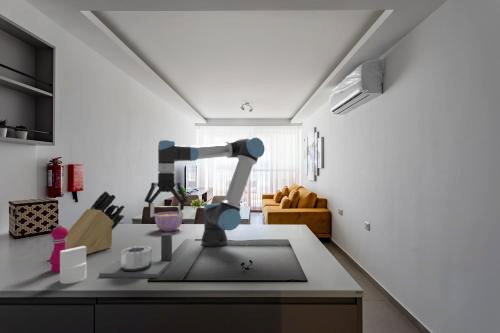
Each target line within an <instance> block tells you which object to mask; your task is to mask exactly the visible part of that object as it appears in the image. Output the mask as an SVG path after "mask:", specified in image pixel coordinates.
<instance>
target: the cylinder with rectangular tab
mask: <svg viewBox="0 0 500 333" xmlns="http://www.w3.org/2000/svg"><path fill="white" fill-rule="evenodd" d="M87 264H88V263H87V254H86V246H80V247H76V248H71V249H67V250H62V251H60V272H59V283H61V284H64V285H68V284H69V285H70V284H75V283H80V282H82V281H85V279H87V276H88V275H87Z"/></svg>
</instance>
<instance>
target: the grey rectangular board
mask: <svg viewBox="0 0 500 333" xmlns="http://www.w3.org/2000/svg"><path fill="white" fill-rule="evenodd" d="M170 262H171V261H153V260H152V263H151V267H150V268H148V269H146V270H143V271H139V272H124V271H122V270H121V260H118V261H116V262H115V263H113V264H111V265H110V266H108V267H107V268H105V269H103V270H102V271H101V272H99V273H98V274H99V276H98V277H99V278H141V279H142V278H145V279H147V278H148V279H149V278H150V279H151V278H152V279H156V278H159V277H160V276H161V275H162V274H163V273H164V272H163V271H166V270H167V268H168V267H170ZM162 272H163V273H162Z"/></svg>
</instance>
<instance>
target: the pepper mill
mask: <svg viewBox="0 0 500 333" xmlns="http://www.w3.org/2000/svg"><path fill="white" fill-rule="evenodd" d="M68 231H69V230H68V229H67V228H66V227H63V224H62V223H58V224H57V227H55V228H54V229H52V230H51V233H50V234H51V238H52V244H53V249H54V250H53V249H52V251H53V253H51V255H50V257H49V263H50V265H51V267H50V271H51V273H60V251H62V250H66V246H65V242H66V241H67V240H66V239H67V238H66V236H67V234H68Z"/></svg>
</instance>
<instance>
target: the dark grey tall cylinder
mask: <svg viewBox="0 0 500 333" xmlns="http://www.w3.org/2000/svg"><path fill="white" fill-rule="evenodd" d="M160 238H161V239H160V249H161V250H160V253H161V255H160V262H170V261H172V260H173V234H172V233H169V232H167V233H161V235H160ZM171 259H172V260H171ZM169 260H170V261H169Z"/></svg>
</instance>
